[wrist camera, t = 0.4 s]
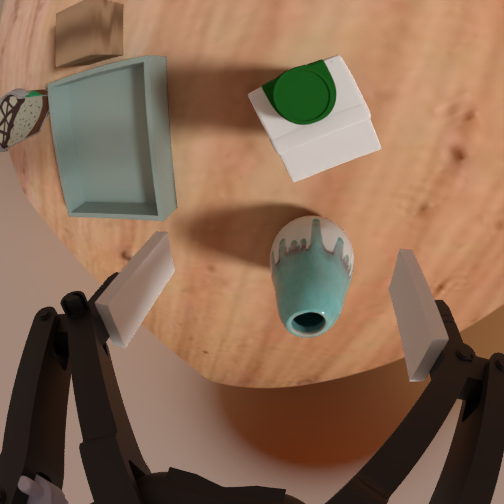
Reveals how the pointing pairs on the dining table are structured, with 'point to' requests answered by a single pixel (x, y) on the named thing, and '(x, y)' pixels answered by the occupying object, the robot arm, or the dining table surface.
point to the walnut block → (89, 33)
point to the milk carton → (315, 117)
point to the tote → (115, 140)
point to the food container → (21, 115)
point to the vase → (310, 274)
